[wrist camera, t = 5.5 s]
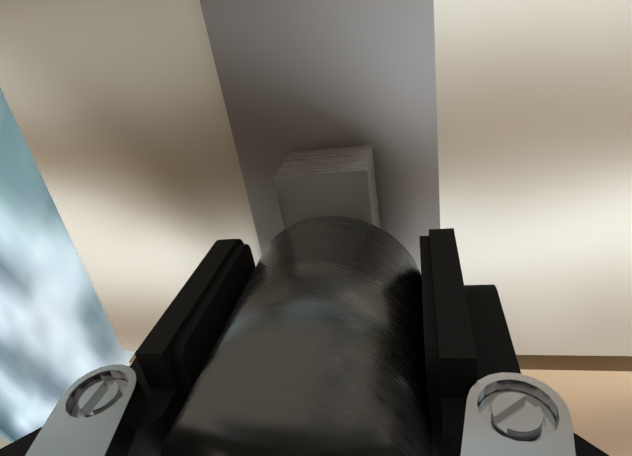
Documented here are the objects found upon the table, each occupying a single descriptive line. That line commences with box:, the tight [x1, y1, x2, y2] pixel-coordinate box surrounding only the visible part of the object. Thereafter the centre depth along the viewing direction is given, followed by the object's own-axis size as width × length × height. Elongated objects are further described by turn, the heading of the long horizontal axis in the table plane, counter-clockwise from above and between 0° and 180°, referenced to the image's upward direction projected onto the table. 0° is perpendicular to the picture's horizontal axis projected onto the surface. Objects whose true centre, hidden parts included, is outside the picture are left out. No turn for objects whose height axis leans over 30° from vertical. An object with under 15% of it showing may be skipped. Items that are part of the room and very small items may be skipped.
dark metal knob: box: [160, 145, 433, 456], centre depth 11 cm, size 13×4×7 cm, turn 9°
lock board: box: [0, 0, 632, 456], centre depth 13 cm, size 22×18×6 cm
